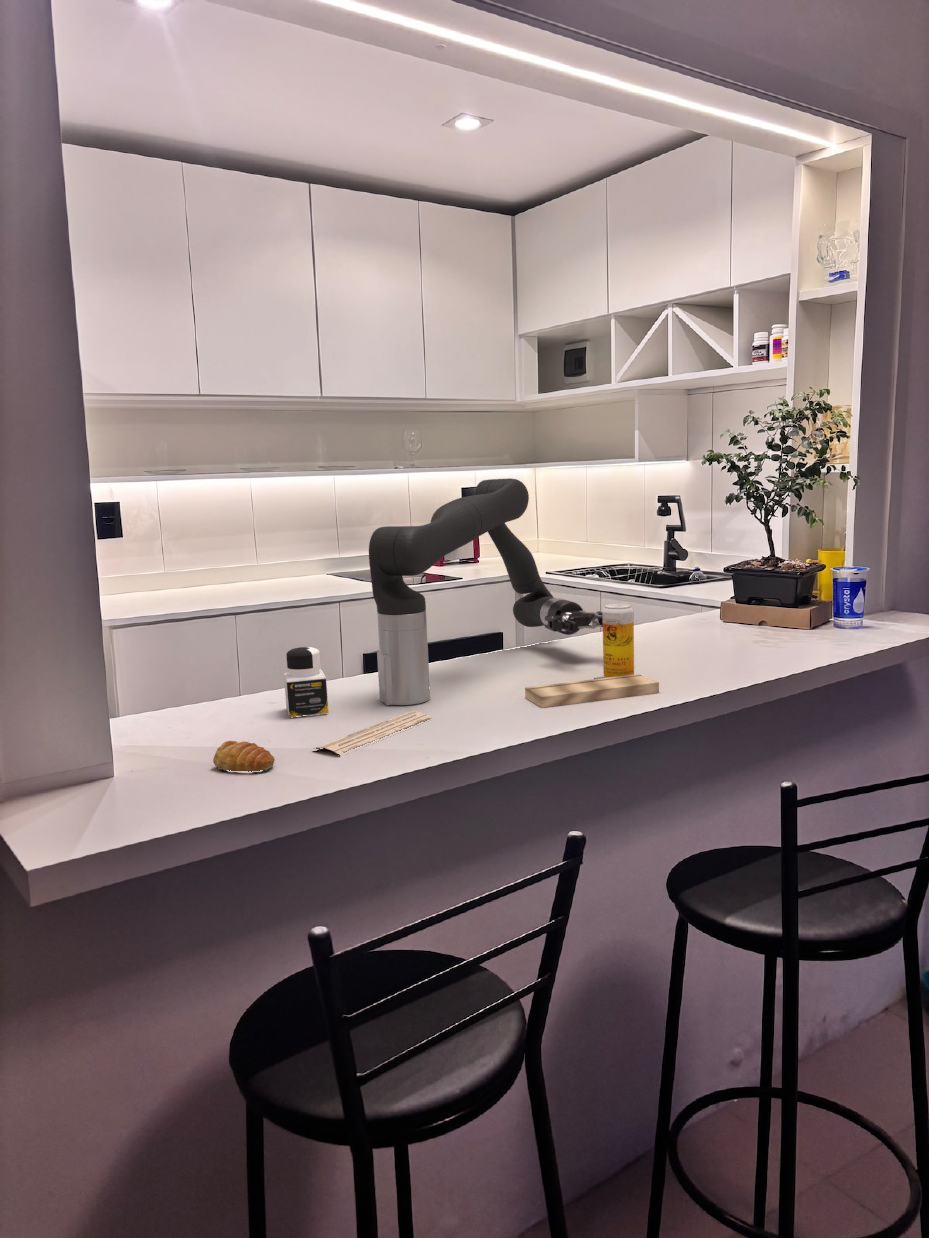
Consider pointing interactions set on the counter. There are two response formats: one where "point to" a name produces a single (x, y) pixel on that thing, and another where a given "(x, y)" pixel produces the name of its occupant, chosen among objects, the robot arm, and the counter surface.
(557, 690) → the board
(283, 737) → the counter surface
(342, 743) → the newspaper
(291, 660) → the medicine bottle
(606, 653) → the beer can
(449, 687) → the counter surface
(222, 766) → the pastry
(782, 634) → the counter surface
